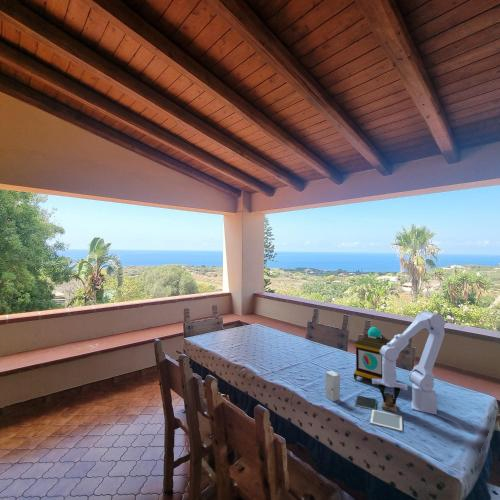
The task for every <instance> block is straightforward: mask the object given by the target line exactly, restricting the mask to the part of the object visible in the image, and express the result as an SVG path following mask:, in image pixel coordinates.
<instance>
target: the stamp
mask: <svg viewBox="0 0 500 500" xmlns="http://www.w3.org/2000/svg"><path fill="white" fill-rule="evenodd" d="M381 410H383V411H387V412H390V413H395V414H396V413H398V404H397V402H396V405H394V393H391V392H385V402H383V401H382V403H381Z"/></svg>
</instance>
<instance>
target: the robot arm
mask: <svg viewBox="0 0 500 500" xmlns="http://www.w3.org/2000/svg"><path fill="white" fill-rule="evenodd" d="M445 325H446V320H445V319H444V317H443V316H442V315H441V314H438V313H434V312H430V311H427V310H422V311H420V312H419V313H418V314H417V315H416V316H415V318H414V321H412V322H411V324H410V325H409V326H408V327H406V329H405V330H404V331H403V332H402V333H398V334H395V335H394V336H393V338H391V339H390V340H391V341H390V342H389V343H387V345H384V346H382V347H381V350H379V352H380V354H381V355H382V379H373V378H372V380H371V384H372V385H377V386H378V390H379V392H380V394H381V397H382V402H385V393H386V388H393V395H394V405H396V403H397V399H398V396H399V395H400V393H401V390H404V391H408V384H405V383H402V382H398V381H397V360H398V359H399V354H400V352H402V351H403V350H404V349H405V348H406V347H407V346H408V345H409V340H410V339H411V338H413V337H414V336H415V335H416V334H417V333H418V332H419V331H422V329H426V330H427V331H428V334H429V335H428V337H427V340H426V342H425V346H424V347H423V350H422V354H421V356H420V359H419V362H418V364H417V365H414V366H413V369H412V370H411V371H410V372H409V374H408V379H409V381H410V382H411V393H412V395H411V398H412V399H411V401H410V403H411V410H413V411H418V412H423V413H427V414H432V415H438V413H437V408H438V405H437V393H436V390H434V386H435V382H434V380H435V378H436V377H435V375H434V373H433V368H434V366H435V363H436V359H437V358H438V355H439V351H440V349H441V346H442V343H443V341H444V337H445V333H446V332H445ZM385 386H386V388H385Z"/></svg>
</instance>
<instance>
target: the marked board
mask: <svg viewBox="0 0 500 500" xmlns="http://www.w3.org/2000/svg"><path fill="white" fill-rule="evenodd" d="M373 424H374V426H377V427H381V426H383V427H382V428H385V427H387V428H386V429H388V428H390V430H392V429H394V431H396V430H397V432H399V433H400V432H401V433H403V431H404V428H403V427H404V426H403V415H397V414H396V413H391V412H386V411H381V410H378V409H376V410H373V409H372V410H371V414H370V419H369V425H373Z"/></svg>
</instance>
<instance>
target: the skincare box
mask: <svg viewBox="0 0 500 500" xmlns="http://www.w3.org/2000/svg"><path fill="white" fill-rule="evenodd" d="M340 391H341V374H339V373H337V372H336V371H335V370H334V371H333V370H328V371H325V394H324V395H325V396H324V397H326V398H327V399H328V400H330V401H332V402H337V401H340V399H341V397H340V395H341V393H340Z"/></svg>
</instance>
